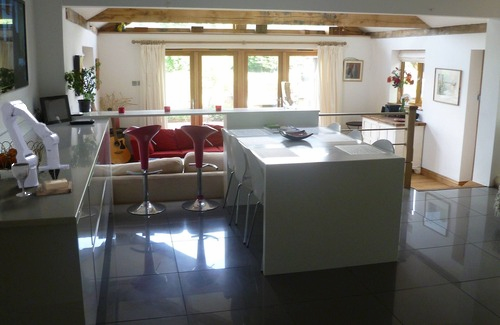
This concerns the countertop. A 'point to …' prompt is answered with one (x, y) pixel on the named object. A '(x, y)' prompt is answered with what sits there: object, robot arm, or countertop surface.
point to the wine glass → (21, 175)
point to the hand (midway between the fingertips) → (55, 183)
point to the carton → (56, 184)
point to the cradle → (53, 190)
